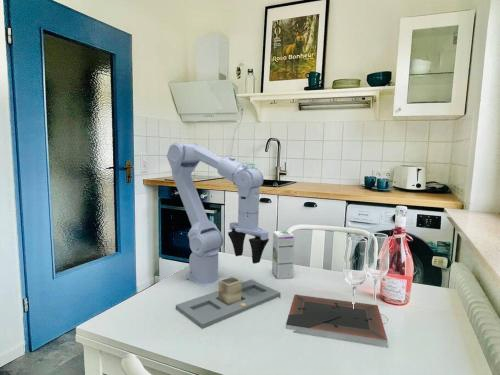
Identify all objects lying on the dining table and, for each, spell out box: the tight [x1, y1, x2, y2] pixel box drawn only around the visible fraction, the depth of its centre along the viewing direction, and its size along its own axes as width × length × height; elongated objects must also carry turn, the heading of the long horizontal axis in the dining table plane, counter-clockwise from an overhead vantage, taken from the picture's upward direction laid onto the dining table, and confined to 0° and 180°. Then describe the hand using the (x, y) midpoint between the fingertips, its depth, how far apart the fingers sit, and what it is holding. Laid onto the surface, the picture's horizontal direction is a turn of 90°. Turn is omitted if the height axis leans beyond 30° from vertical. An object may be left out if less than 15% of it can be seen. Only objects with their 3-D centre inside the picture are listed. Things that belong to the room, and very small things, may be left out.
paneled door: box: [175, 279, 282, 330], centre depth 86 cm, size 12×26×2 cm, turn 132°
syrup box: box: [271, 230, 295, 280], centre depth 106 cm, size 6×6×14 cm
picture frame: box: [285, 294, 389, 348], centre depth 79 cm, size 16×2×22 cm
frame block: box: [218, 275, 242, 306], centre depth 85 cm, size 4×4×6 cm
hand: (247, 259), depth 92 cm, fingers open, 7 cm apart
